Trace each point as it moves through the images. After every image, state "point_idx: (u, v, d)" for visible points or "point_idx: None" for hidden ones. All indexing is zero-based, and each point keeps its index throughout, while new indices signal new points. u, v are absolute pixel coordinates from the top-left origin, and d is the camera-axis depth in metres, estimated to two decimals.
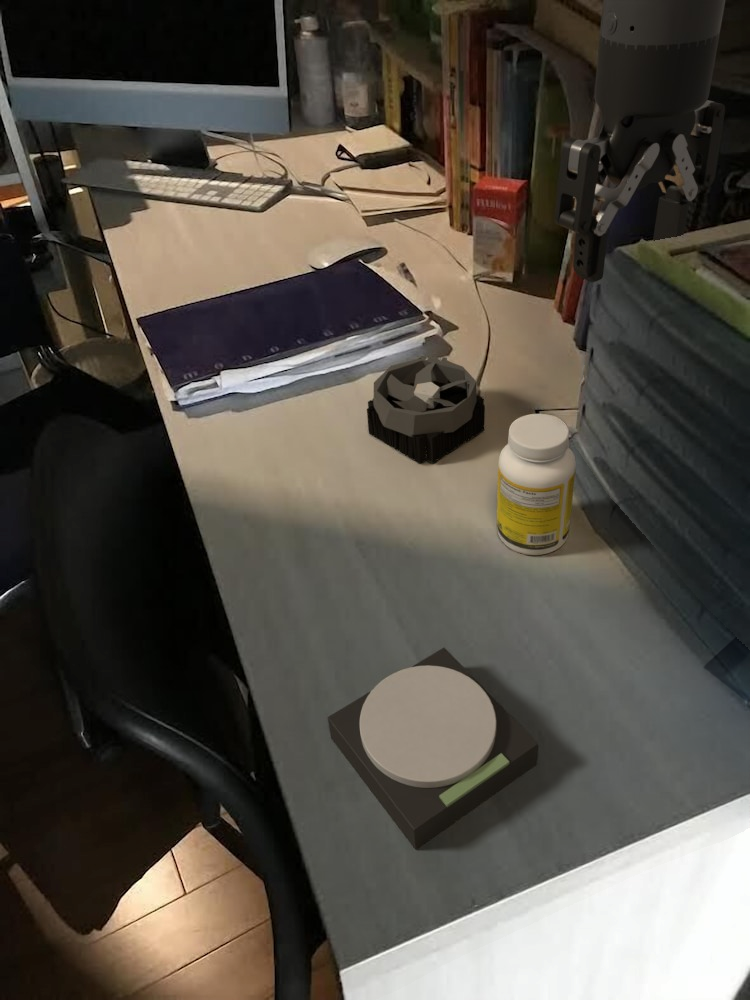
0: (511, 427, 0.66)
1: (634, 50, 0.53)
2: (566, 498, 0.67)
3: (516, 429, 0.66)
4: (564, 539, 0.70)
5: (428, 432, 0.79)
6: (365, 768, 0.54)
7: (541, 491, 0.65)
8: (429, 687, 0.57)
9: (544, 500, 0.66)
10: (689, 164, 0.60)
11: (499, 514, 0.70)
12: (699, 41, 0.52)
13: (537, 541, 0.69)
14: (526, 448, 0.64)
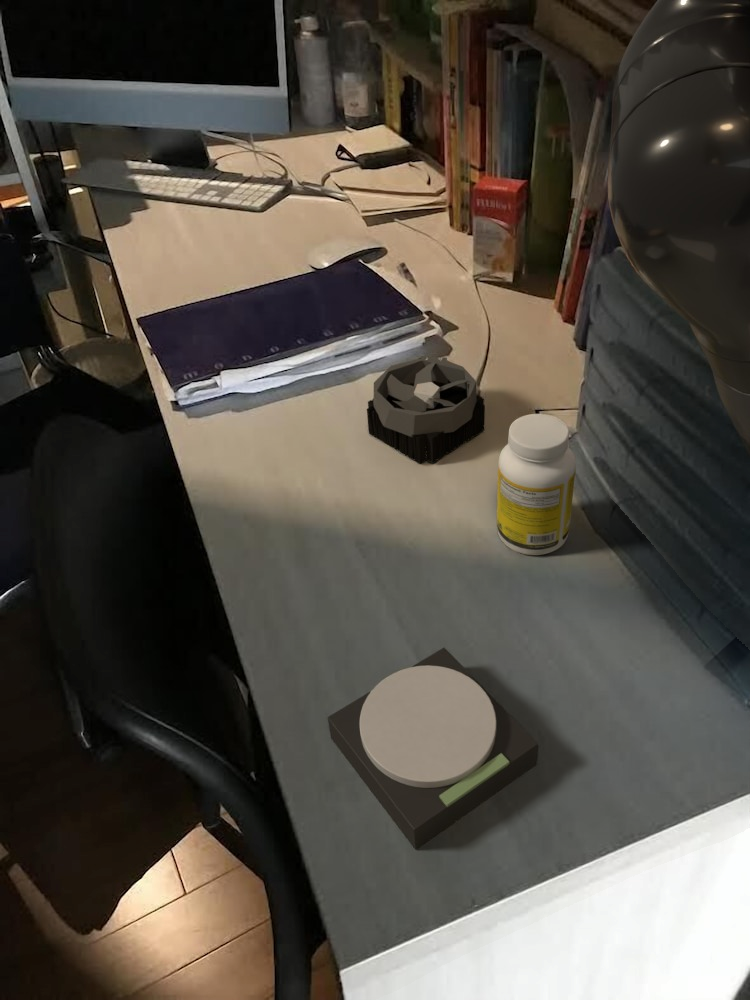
0: (511, 427, 0.66)
1: None
2: (566, 498, 0.67)
3: (516, 429, 0.66)
4: (564, 539, 0.70)
5: (428, 432, 0.79)
6: (365, 768, 0.54)
7: (541, 491, 0.65)
8: (429, 687, 0.57)
9: (544, 500, 0.66)
10: None
11: (499, 514, 0.70)
12: None
13: (537, 541, 0.69)
14: (526, 448, 0.64)
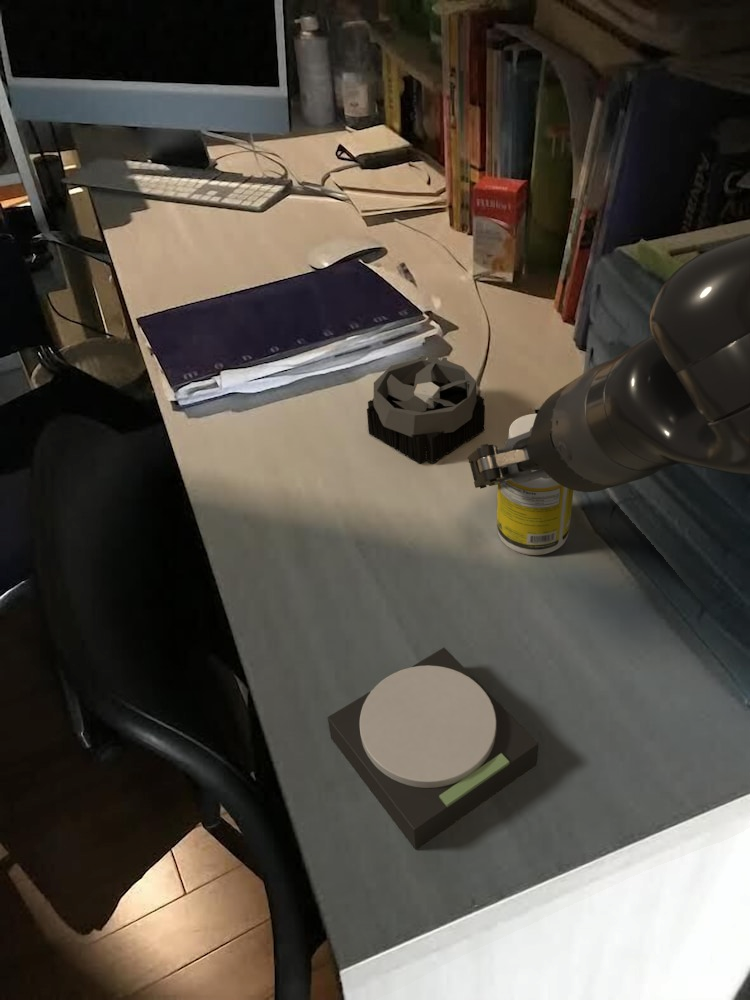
0: (511, 427, 0.66)
1: None
2: (566, 498, 0.67)
3: (516, 429, 0.66)
4: (564, 539, 0.70)
5: (428, 432, 0.79)
6: (365, 768, 0.54)
7: (541, 491, 0.65)
8: (429, 687, 0.57)
9: (544, 500, 0.66)
10: (517, 436, 0.62)
11: (499, 514, 0.70)
12: None
13: (537, 541, 0.69)
14: None
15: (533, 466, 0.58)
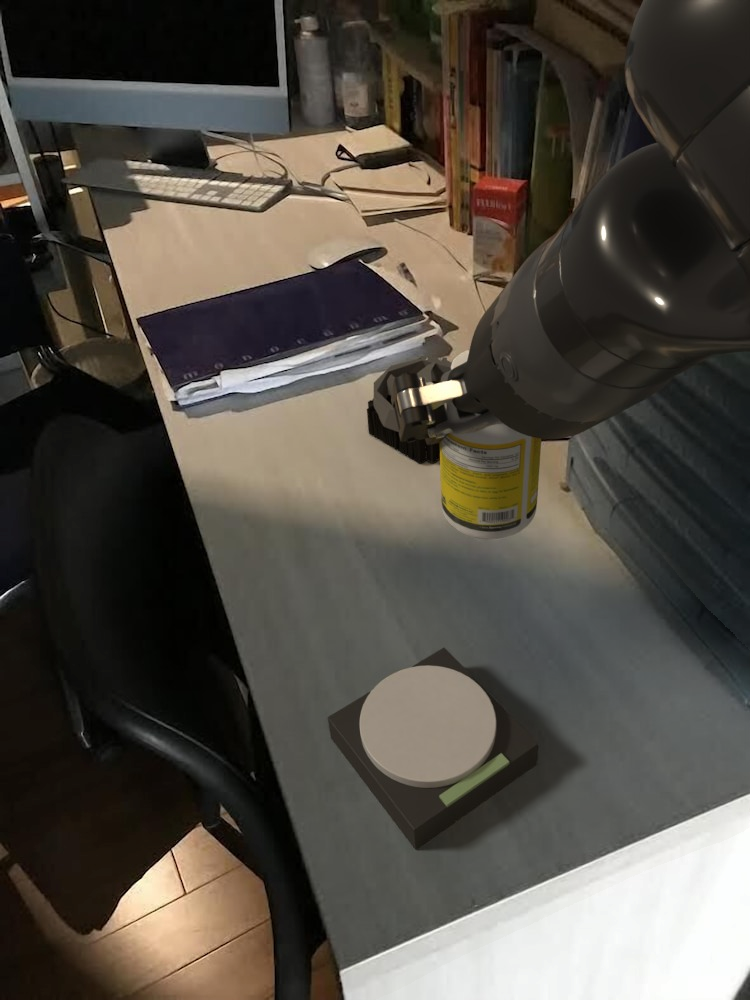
0: (454, 361, 0.48)
1: None
2: (530, 460, 0.49)
3: None
4: (529, 518, 0.53)
5: None
6: (365, 768, 0.54)
7: (494, 448, 0.48)
8: (429, 687, 0.57)
9: (499, 461, 0.48)
10: None
11: (442, 484, 0.52)
12: None
13: (492, 520, 0.51)
14: None
15: (473, 403, 0.41)
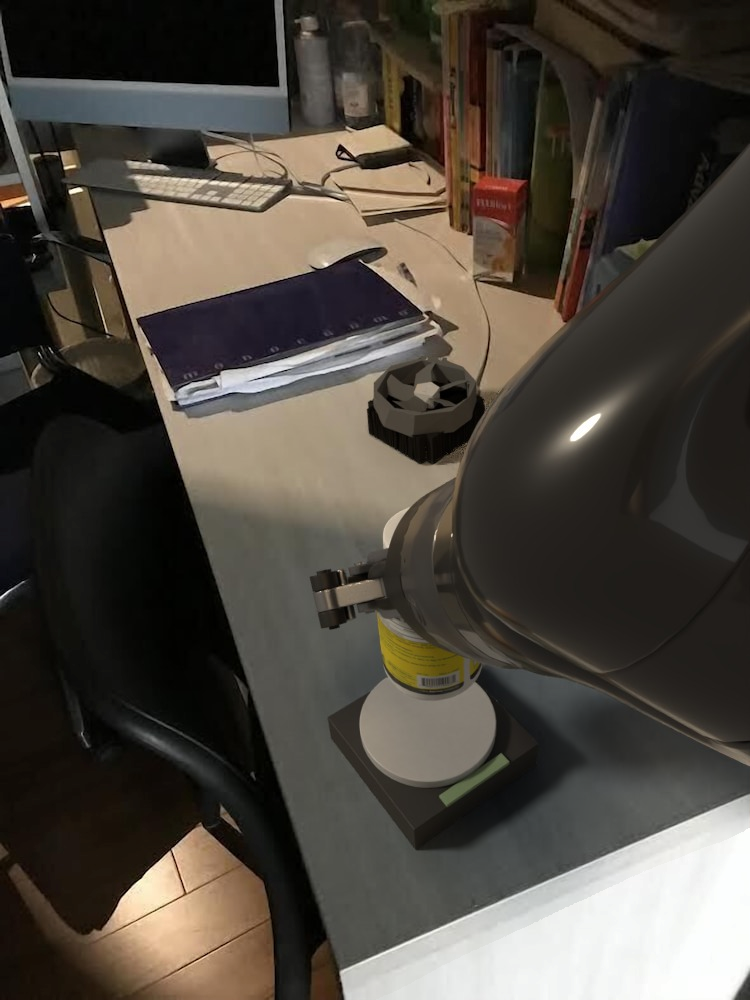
0: (387, 526, 0.45)
1: None
2: None
3: (394, 530, 0.45)
4: (473, 678, 0.49)
5: (428, 432, 0.79)
6: (365, 768, 0.54)
7: None
8: None
9: None
10: None
11: (380, 642, 0.49)
12: None
13: (432, 685, 0.48)
14: None
15: (393, 608, 0.37)
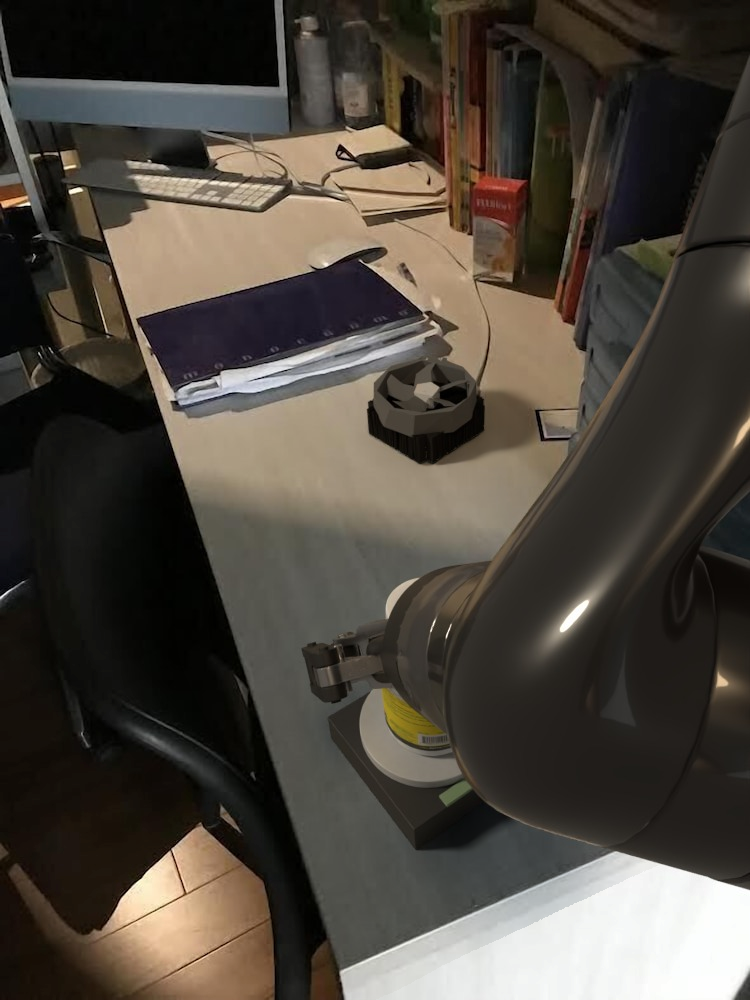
0: (389, 599, 0.48)
1: None
2: None
3: None
4: None
5: (428, 432, 0.79)
6: (365, 768, 0.54)
7: None
8: None
9: None
10: (374, 622, 0.44)
11: (383, 701, 0.53)
12: None
13: (432, 742, 0.51)
14: None
15: (390, 682, 0.40)
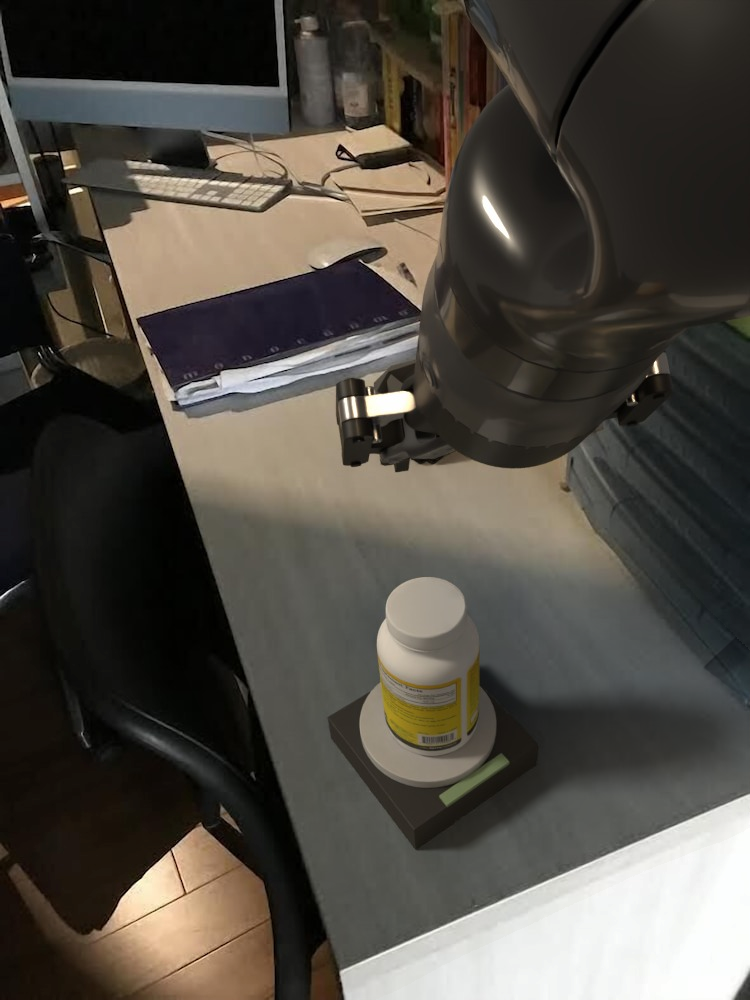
0: (389, 599, 0.48)
1: None
2: (467, 691, 0.50)
3: (396, 603, 0.48)
4: (470, 734, 0.53)
5: None
6: (365, 768, 0.54)
7: (429, 688, 0.48)
8: None
9: (435, 698, 0.48)
10: None
11: (383, 701, 0.53)
12: None
13: (432, 742, 0.51)
14: (405, 635, 0.47)
15: (423, 421, 0.34)
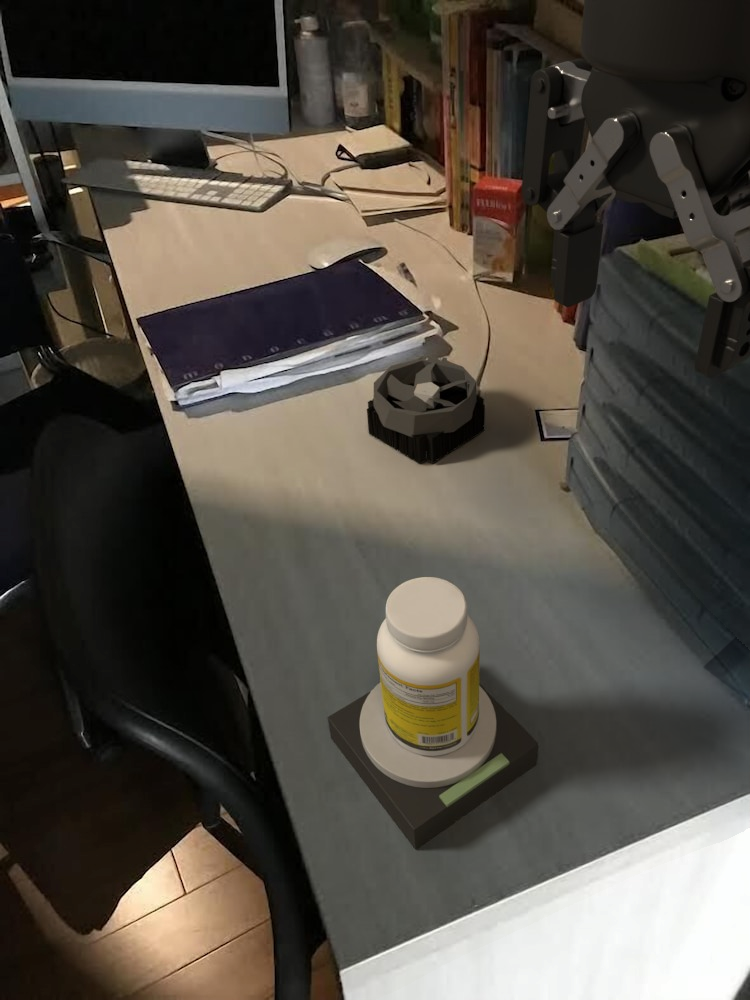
0: (389, 599, 0.48)
1: None
2: (467, 691, 0.50)
3: (396, 603, 0.48)
4: (470, 734, 0.53)
5: (428, 432, 0.79)
6: (365, 768, 0.54)
7: (429, 688, 0.48)
8: None
9: (435, 698, 0.48)
10: None
11: (383, 701, 0.53)
12: None
13: (432, 742, 0.51)
14: (405, 635, 0.47)
15: (590, 77, 0.34)
